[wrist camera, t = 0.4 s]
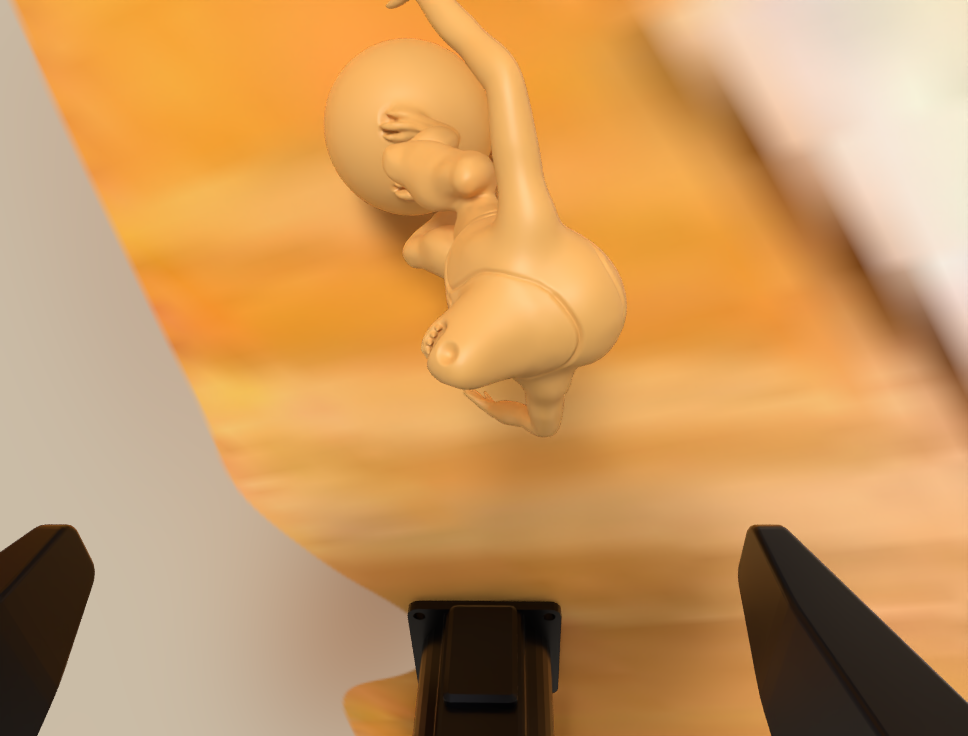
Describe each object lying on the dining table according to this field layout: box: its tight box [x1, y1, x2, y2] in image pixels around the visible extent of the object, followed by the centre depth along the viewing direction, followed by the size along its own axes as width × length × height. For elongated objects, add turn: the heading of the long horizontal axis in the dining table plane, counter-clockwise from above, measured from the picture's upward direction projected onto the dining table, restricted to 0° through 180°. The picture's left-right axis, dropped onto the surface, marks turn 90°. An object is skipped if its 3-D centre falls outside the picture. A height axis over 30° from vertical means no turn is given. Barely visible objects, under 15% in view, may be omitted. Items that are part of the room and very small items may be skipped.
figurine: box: [324, 0, 627, 437], centre depth 14 cm, size 8×6×12 cm
